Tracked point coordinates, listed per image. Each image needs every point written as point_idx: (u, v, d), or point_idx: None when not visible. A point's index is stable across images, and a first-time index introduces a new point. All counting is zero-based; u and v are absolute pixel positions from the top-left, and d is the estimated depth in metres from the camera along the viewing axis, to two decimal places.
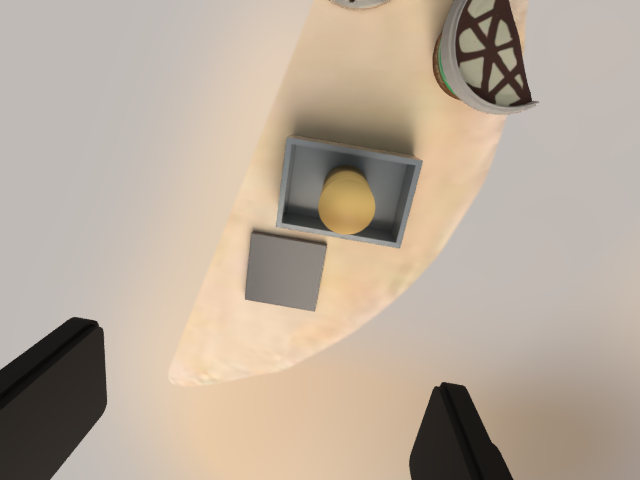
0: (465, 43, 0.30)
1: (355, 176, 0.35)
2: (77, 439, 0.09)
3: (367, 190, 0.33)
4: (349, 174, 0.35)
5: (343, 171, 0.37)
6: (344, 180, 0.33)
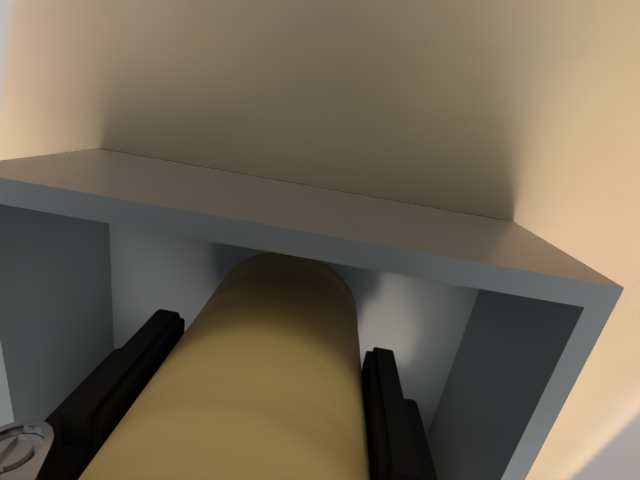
0: None
1: (261, 435, 0.05)
2: None
3: None
4: (231, 405, 0.06)
5: (231, 334, 0.08)
6: None
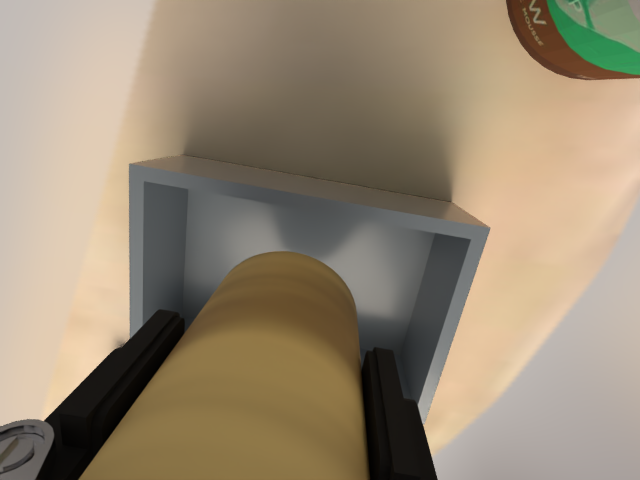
0: None
1: (262, 435, 0.05)
2: None
3: None
4: (231, 405, 0.06)
5: (231, 334, 0.08)
6: None
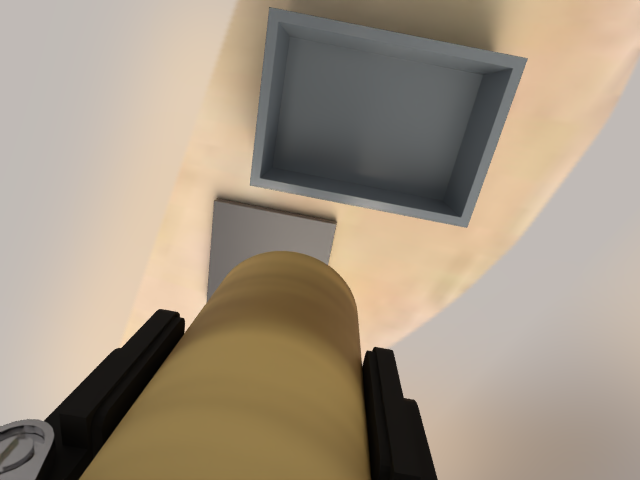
0: None
1: (262, 436, 0.05)
2: None
3: None
4: (232, 405, 0.06)
5: (232, 334, 0.08)
6: None
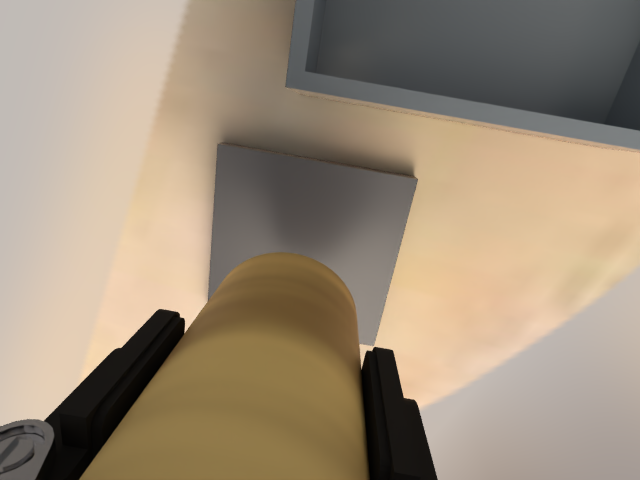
0: None
1: (260, 439, 0.05)
2: None
3: None
4: (230, 408, 0.06)
5: (230, 336, 0.08)
6: None
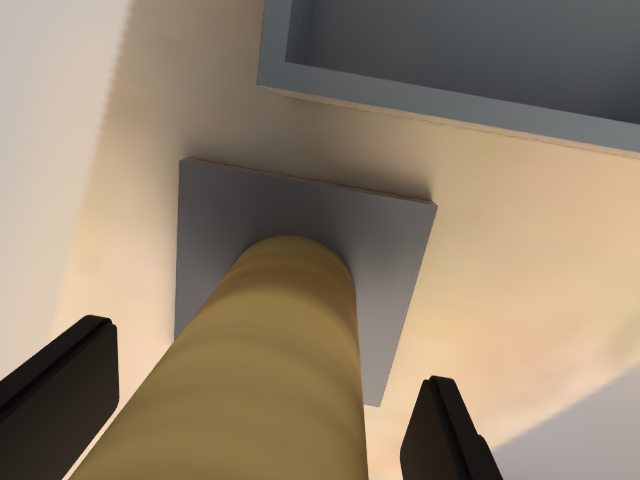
0: None
1: (277, 359, 0.07)
2: (91, 434, 0.09)
3: None
4: (252, 339, 0.07)
5: (248, 294, 0.09)
6: (159, 475, 0.05)
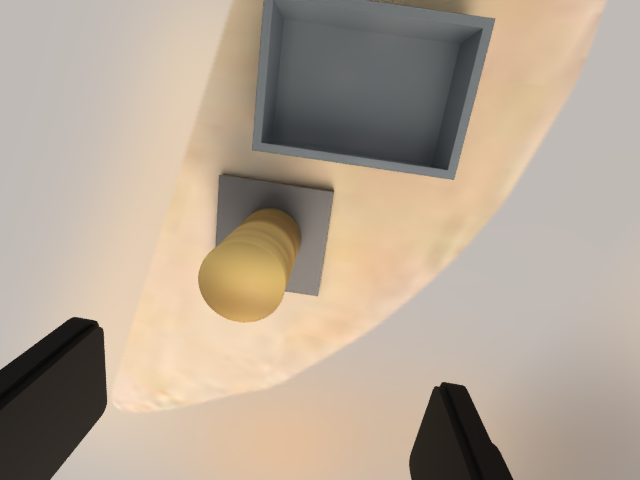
0: None
1: (260, 233, 0.24)
2: (77, 439, 0.09)
3: (269, 258, 0.21)
4: (252, 229, 0.24)
5: (251, 222, 0.26)
6: (233, 244, 0.21)
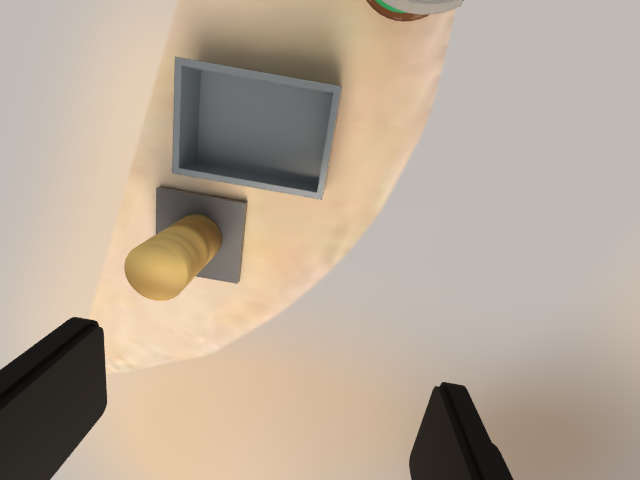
0: None
1: (173, 236, 0.32)
2: (77, 439, 0.09)
3: (173, 255, 0.30)
4: (169, 233, 0.33)
5: (172, 227, 0.35)
6: (147, 244, 0.30)
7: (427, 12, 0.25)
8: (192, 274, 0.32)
